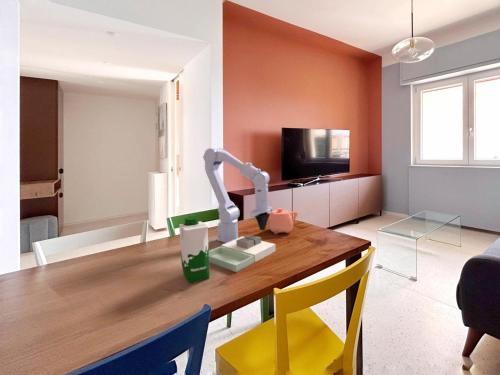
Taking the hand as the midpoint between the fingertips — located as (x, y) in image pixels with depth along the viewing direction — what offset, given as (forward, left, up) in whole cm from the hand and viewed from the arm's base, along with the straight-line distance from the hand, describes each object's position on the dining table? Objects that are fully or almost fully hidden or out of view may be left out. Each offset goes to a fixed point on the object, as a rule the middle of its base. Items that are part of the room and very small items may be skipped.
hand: (262, 229), depth 120 cm
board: (0, -10, -7) cm, 12 cm away
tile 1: (0, -12, -4) cm, 13 cm away
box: (0, -23, -7) cm, 24 cm away
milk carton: (0, -38, -7) cm, 39 cm away
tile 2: (0, -7, -4) cm, 8 cm away
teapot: (-5, +21, -7) cm, 23 cm away
